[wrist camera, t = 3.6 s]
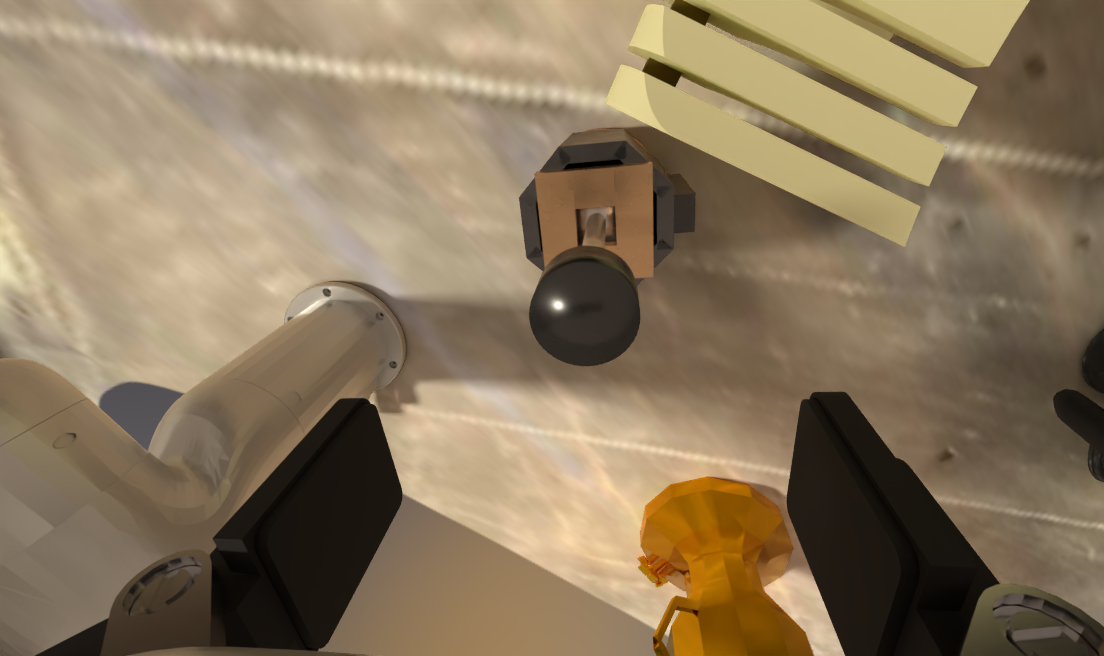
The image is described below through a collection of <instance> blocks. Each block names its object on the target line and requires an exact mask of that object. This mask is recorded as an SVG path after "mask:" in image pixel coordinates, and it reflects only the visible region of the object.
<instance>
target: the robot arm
mask: <svg viewBox="0 0 1104 656" xmlns="http://www.w3.org/2000/svg"><path fill="white" fill-rule="evenodd" d="M405 355H406V342H405V338H404V334H403V331H402V328H401V326H400V324H399V322H398V320H397V319H396V317H395V316H394V314H393V313H392V311H391V310H390V309H389V308H388V307H387V306H386V305H385V304H384V303H383V302H382V301H381V300H379V299H378V298H377V297H376V296H374V295H373V294H371V293H369V292H368V291H366V290H364V289H362V288H360V287H357V286H354V285H351V284H347V283H342V282H324V283H319V284H315V285H313V286H311V287H309V288H307V289H305V290H304V291H302V292H301V293H299V294H298V295H297V296H296V297H295V298H294V299H293V300H292V301H291V303H290V305H289V307H288V308H287V311H286V314H285V318H284V325H282V326H281V327H279V328H278V329H277V330H275V331H274V332H272V333H271V334H269V335H268V336H267V337H265V338H264V339H262V340H261V341H259V342H258V343H257V344H255V345H254V346H252V347H251V348H249V349H248V350H247V351H245V352H244V353H242V354H241V355H239V356H238V357H237V358H235V359H234V360H232V361H231V362H229V363H228V364H226V365H225V366H224V367H222V368H221V369H219V370H218V371H216V372H215V373H214V374H212V375H211V376H209V377H208V378H206V379H205V380H204V381H202V382H201V383H199V384H198V385H196V386H195V387H194V388H192V389H191V390H190V391H188V392H187V393H185V394H184V395H183V396H181V397H180V398H179V399H178V400H177V401H176V402H175V403H174V404H173V405H172V406H171V407H170V408H169V410H168V411H167V412H166V414H165V415H164V417H163V418H162V420H161V421H160V423H159V425H158V427H157V429H156V431H155V433H154V436H153V438H152V440H151V443H150V446H149V450H148V451H146V450H145V449H144V448H143V447H142V446H141V445H140V444H139V443H138V442H137V441H135V440H134V439H133V438H132V437H131V436H130V435H129V434H128V433H127V432H125V431H124V430H123V429H122V428H121V427H120V426H119V425H118V424H117V423H115V422H114V421H113V420H112V419H111V418H110V417H109V416H108V415H107V414H105V413H104V412H103V411H102V410H101V409H100V408H99V407H98V406H97V405H96V404H95V403H93V402H92V401H91V400H90V399H89V398H87V397H86V396H85V395H84V394H83V393H82V392H80V391H79V390H78V389H77V388H76V387H75V386H74V385H72V384H71V383H70V382H68V381H67V380H66V379H65V378H63V377H62V376H61V375H60V374H58V373H56V372H55V371H53V370H52V369H50V368H48V367H46V366H44V365H42V364H39V363H37V362H34V361H30V360H25V359H15V358H3V359H0V656H376V655H363V654H348V653H334V652H319V651H318V649H319V648H323V647H324V646H325V645H326V644H327V643H328V642H329V640H330V638H331V636H332V634H333V633H334V630H335V629H336V627H337V625H338V623H339V621H340V619H341V617H342V615H343V614H344V612H345V610H346V608H347V606H348V604H349V602H350V600H351V598H352V596H353V594H354V593H355V591H356V589H357V587H358V585H359V583H360V581H361V579H362V577H363V576H364V574H365V572H366V570H367V568H368V566H369V564H370V562H371V560H372V559H373V557H374V555H375V553H376V551H377V549H378V547H379V545H380V543H381V541H382V540H383V538H384V536H385V534H386V532H387V530H388V528H389V526H390V524H391V522H392V521H393V519H394V517H395V515H396V513H397V511H398V509H399V507H400V505H401V501H402V488H401V485H400V482H399V478H398V475H397V472H396V469H395V466H394V462H393V459H392V456H391V453H390V449H389V446H388V443H387V440H386V436H385V433H384V430H383V427H382V423H381V420H380V417H379V414H378V411H377V408H376V406H375V405H373V404H370V402H369V400H368V399H369V398H370V395H371V394H372V393H373V392H375V391H377V390H380V389H382V388H384V387H385V386H387V385H388V384H390V383H391V381H392V380H393V379H394V378H395V377H396V376H397V374H398V373H399V372H400V370H401V368H402V366H403V364H404V361H405ZM787 509H788V513H789V516H790V519H791V521H792V524H793V526H794V529H795V531H796V534H797V536H798V539H799V541H800V544H801V546H802V549H803V551H804V554H805V556H806V559H807V561H808V564H809V566H810V569H811V571H812V574H813V576H814V579H815V581H816V584H817V586H818V589H819V591H820V594H821V596H822V599H823V601H824V604H825V606H826V609H827V611H828V614H829V616H830V619H831V621H832V624H833V626H834V629H835V631H836V634H837V636H838V639H839V641H840V644H841V646H842V649H843V651H844V654H845V656H1104V626H1103V625H1102V624H1100V623H1099V622H1097V621H1096V620H1095V619H1093V618H1092V617H1091V616H1089V615H1088V614H1086V613H1085V612H1084V611H1082V610H1081V609H1080V608H1078V607H1076V606H1074V605H1072V604H1070V603H1068V602H1067V601H1065V600H1063V599H1061V598H1059V597H1057V596H1055V595H1052V594H1050V593H1047V592H1044V591H1042V590H1039V589H1036V588H1033V587H1028V586H1023V585H1018V584H1000V583H999V582H998V580H997V579H996V578H995V577H994V575H993V574H992V573H991V571H990V570H989V569H988V567H987V566H986V565H985V564H984V562H983V561H982V560H981V558H980V557H979V556H978V555H977V553H976V552H975V551H974V549H973V548H972V547H971V545H970V544H969V543H968V542H967V540H966V539H965V538H964V536H963V535H962V534H961V532H960V531H959V530H958V529H957V527H956V526H955V525H954V523H953V522H952V521H951V520H950V518H949V517H948V516H947V514H946V513H945V512H944V510H943V509H942V508H941V507H940V505H939V504H938V503H937V501H936V500H935V499H934V498H933V496H932V495H931V494H930V492H929V491H928V490H927V488H926V487H925V486H924V485H923V483H922V482H921V481H920V479H919V478H918V477H917V475H916V474H915V473H914V472H913V470H912V469H911V468H910V467H909V466H908V465H907V464H906V463H905V462H904V461H903V460H901V459H898V458H895V456H894V455H893V454H892V452H891V451H890V450H889V448H888V447H887V446H886V444H885V443H884V442H883V440H882V439H881V438H880V436H879V435H878V434H877V432H876V431H875V430H874V428H873V427H872V426H871V425H870V423H869V422H868V421H867V419H866V418H865V417H864V415H863V414H862V413H861V411H860V410H859V409H858V407H857V406H856V405H855V403H854V402H853V401H852V399H851V398H850V397H849V395H848V394H847V393H845V392H814V393H812V395H811V396H810V399H804V400H802V402H801V405H800V411H799V418H798V425H797V432H796V438H795V445H794V452H793V458H792V465H791V472H790V479H789V485H788V492H787Z"/></svg>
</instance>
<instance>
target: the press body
mask: <svg viewBox="0 0 1104 656" xmlns="http://www.w3.org/2000/svg"><path fill="white" fill-rule="evenodd" d="M519 201H520V209H521V217H522V225H523V233H524V241H525V249H526V257H527V259H529V260H530V261H531V262H532V263H533V264H535V265H536V266H537V267H538V268H540V269H541V270H542V271H544V269H545V267H546V266H547V265H548V263H549V262H550V261H551V260H552V259H553V258H554V257H555V256H557V255H558V254H559V253H561V252H563V251H565V250H567V249H570V248H573V247H577V246H582V244H583V243H579V238H578V225H577V212H576V209H582V208H595V207H609V206H615V214H616V238H617V241H608V242H605V249H607V250H610V251H612V252H613V253H615V254H617V255H618V256H619V257H621V258H622V259H623V260H624V261H625V262H626V263H627V265H628V266H629V267H630V269H631V271H632V272H633V275H634V277H635V280H636V284H637V285H638V284H639V283H640V282H641V281H642V280H643V279H644V278H651V277H654V268H655V267H656V266H657V265H658V264H659V263H660V262H661V261H662V260H663V259H664V258H665V257H666V256H667V255H668V254H669V253H670V252H671V251H672V250H673V238H674V233H681V232H694V226H695V192H694V191H693V190H692V188H691V187H690V186H689V185H688V184H687V182H686V181H685V180H684V179H683V177H682V176H681V175H680V174H672V175H667V174H666V172H665V171H664V169H663V168H662V166H661V165H660V163H659V162H658V161H657V160H656V159H655V158H654V157H653V156H652V155H651V154H650V153H649V152H648V150H647V149H646V148H645V147H644V146H643V145H642V144H641V143H640V142H639V141H638V140H637V139H635V138H634V137H632V136H631V135H629V134H628V133H627V132H626V131H625V130H624V129H623V128H620V129H608V128H598V129H592V130H588V131H585V132H579V133H573V134H571V135H570V136H569V137H568V138H567V139H566V140H565V141H564V142H563V143H562V144H561V145H560V146H559V147H558V148H557V150H556V151H555V152H554V153H553V155H552V156H551V157H550V159H549V160H548V161H547V162H546V164H545V165H544V166H543V168H542V169H541V170H540V171H539V172H536V173H535V178H534V179H533V180H532V182H531V183H530V184H529V186H528V187H527V188H526V189H525V191H524V192H523V193H522V195H521V196H520V197H519Z"/></svg>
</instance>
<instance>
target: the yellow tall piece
mask: <svg viewBox="0 0 1104 656" xmlns="http://www.w3.org/2000/svg"><path fill="white" fill-rule="evenodd" d="M640 542H641V548H642V549H643V551H644V553H645V555H646V557H647V559H648V560H647V559H646V558H645V557H644V556H641V557H639V558H638V560H639V561H640V562H641V566H639V567H638V568H639V569H640V570H641V571H642V572H643V573H644V574H645V575H647V577H648V579H649V580H650V581H651V582H653V583H655V584H656V587H660V586H662V585H663V584H665V583H667V582H668V581H669V582H670V583H672V584H673V585H675V586H676V587H678V588H680V589H681V590H683V591H686V593H687V598H685V597H680V596H675V597H673V598H672V599H671V601H670V603H669V605H668V607H667V609H666V611H665V613H664V615H663V617H662V620H661V622H660V624H659V626H658V628H657V630H656V632H655V634H654V636H653V644H654V651H655V653H656V655H657V656H815V655H814V653H813V650H812V648H811V645H810V643H809V640H808V638H807V635H806V633H805V631H804V630H803V629H802V628H801V627H800V626H799V625H798V624H797V623H796V622H795V621H794V620H793V619H792V618H791V617H790V616H789V615H788V614H787V613H786V612H785V611H784V610H783V609H782V608H781V607H780V606H779V605H778V604H777V603H776V602H775V601H774V600H773V599H772V598H771V597H770V596H769V595H768V594H767V593H766V592H765V590H764V587H765V586H767V585H768V584H770V583H771V582H773V581H774V580H776V579H777V578H779V577H781V576H782V575H783V573H784V571H785V568H786V566H787V563H788V561H789V558H790V556H791V554H792V551H793V549H794V548H793V546H792V543H791V540H790V537H789V535H788V532H787V529H786V526H785V524H784V521H783V518H782V516H781V513H780V511H779V508H778V506H777V505H775V504H774V503H773V502H771V501H770V500H769V499H767V498H766V497H765V496H763V495H762V494H760V493H759V492H758V491H756V490H755V489H754V488H752V487H751V486H750V485H748V484H743V483H738V482H733V481H728V480H723V479H718V478H713V477H703V478H699V479H694V480H689V481H685V482H680V483H676V484H671V485H669V486H668V487H667V488H666V489H664V490H663V491H662V492H661V493H660V494H659V495H657V496H656V497H655V498H654V499H653V500H652V501H650V502H649V503H648V504H647V505H646V506H645V510H644V515H643V520H642V525H641V530H640ZM648 565H651V566H648ZM675 610H678V611H680V612H679V614H678V616H677V617H676V619H675V621H674V622H673V624H672V626H671V630H670V634H669V638H668V642H667V646H666V647H665V645H664V644H663V642H662V638H663V636H664V634H665V632H666V629H667V627H668V625H669V623H670V621H671V618H672V616H673V614H674V612H675Z"/></svg>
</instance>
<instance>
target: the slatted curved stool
mask: <svg viewBox="0 0 1104 656" xmlns="http://www.w3.org/2000/svg"><path fill="white" fill-rule="evenodd" d="M663 1H665V2H667V3H669V4H671V5H672V6H671V9H669V8H667V7H665V6H662V5H656V4H650V5H647V6H646V8H645V10H644V12H643V15H642V17H641V19H640V22H639V24H638V26H637V29H636V31H635V33H634V36H633V38H632V40H631V43H630V45H629V48H628V51H630V52H632V53H635V54H637V55H639V56H641V57H643V58H645V59H647V62H646V64H645V66H644V69H643V71H639V70H637V69H634V68H632V67H629V66H626V65H621V66H620V68H619V70H618V73H617V75H616V77H615V80H614V82H613V84H612V87H611V89H610V91H609V94H608V96H607V98H606V101H605V103H606V104H608V105H610V106H612V107H614V108H616V109H618V110H619V111H621V112H623V113H625V114H627V115H629V116H631V117H633V118H635V119H637V120H639V121H641V122H644V123H646V124H648V125H650V126H652V127H654V128H656V129H658V130H660V131H662V132H664V133H666V134H668V135H670V136H672V137H675V138H677V139H679V140H681V141H683V142H685V143H687V144H689V145H691V146H693V147H696V148H698V149H700V150H702V151H704V152H706V153H708V154H710V155H712V156H714V157H717V158H719V159H721V160H723V161H725V162H727V163H729V164H731V165H733V166H735V167H738V168H740V169H742V170H744V171H746V172H748V173H750V174H752V175H754V176H756V177H759V178H761V179H763V180H765V181H767V182H769V183H771V184H773V185H775V186H777V187H780V188H782V189H784V190H786V191H788V192H790V193H792V194H794V195H796V196H798V197H801V198H803V199H805V200H807V201H809V202H811V203H813V204H815V205H817V206H819V207H822V208H824V209H826V210H828V211H830V212H832V213H834V214H836V215H838V216H840V217H843V218H845V219H847V220H849V221H851V222H853V223H855V224H857V225H859V226H861V227H864V228H866V229H868V230H870V231H872V232H874V233H876V234H878V235H880V236H882V237H885V238H887V239H889V240H891V241H893V242H895V243H897V244H899V245H901V246H903V247H905V245H906V242H907V240H908V237H909V235H910V232H911V229H912V227H913V224H914V222H915V219H916V217H917V214H918V212H919V209H920V206H918V205H916V204H914V203H912V202H910V201H908V200H906V199H904V198H902V197H900V196H898V195H896V194H894V193H892V192H890V191H888V190H886V189H883V188H881V187H879V186H877V185H875V184H873V183H871V182H869V181H867V180H865V179H863V178H861V177H859V176H857V175H855V174H853V173H850V172H848V171H846V170H844V169H842V168H840V167H838V166H836V165H834V164H832V163H830V162H828V161H826V160H824V159H822V158H820V157H817V156H815V155H813V154H811V153H809V152H807V151H805V150H803V149H801V148H799V147H797V146H795V145H793V144H791V143H789V142H787V141H784V140H782V139H780V138H778V137H776V136H774V135H772V134H770V133H768V132H766V131H764V130H762V129H760V128H758V127H756V126H754V125H751V124H749V123H747V122H745V121H743V120H741V119H739V118H737V117H735V116H733V115H731V114H729V113H727V112H725V111H723V110H721V109H718V108H716V107H714V106H712V105H710V104H708V103H706V102H704V101H702V100H700V99H698V98H696V97H694V96H692V95H690V94H688V93H685V92H683V91H681V90H679V89H677V88H675V86H676V84H677V82H678V80H679V78H680V76H682V77H684V78H686V79H688V80H690V81H692V82H694V83H696V84H698V85H700V86H702V87H704V88H707V89H710V90H713V91H715V92H718V93H721V94H723V95H726V96H728V97H730V98H733V99H735V100H737V101H740V102H742V103H744V104H747V105H749V106H751V107H753V108H755V109H758V110H760V111H762V112H764V113H766V114H769V115H771V116H773V117H775V118H777V119H779V120H782V121H784V122H786V123H788V124H790V125H792V126H794V127H797V128H799V129H801V130H803V131H805V132H807V133H809V134H811V135H813V136H816V137H818V138H820V139H822V140H824V141H826V142H828V143H830V144H832V145H834V146H837V147H839V148H841V149H843V150H845V151H847V152H849V153H851V154H853V155H855V156H857V157H859V158H861V159H864V160H866V161H868V162H870V163H872V164H874V165H876V166H878V167H880V168H882V169H884V170H886V171H888V172H890V173H892V174H894V175H897V176H899V177H901V178H903V179H905V180H909V181H912V182H915V183H919V184H922V185H926V186H929V185H930V183H931V181H932V179H933V177H934V174H935V172H936V170H937V168H938V166H939V163H940V161H941V159H942V157H943V155H944V152H945V150H946V148H947V147H946V146H944V145H942V144H940V143H938V142H936V141H934V140H932V139H930V138H928V137H926V136H924V135H922V134H920V133H918V132H916V131H914V130H912V129H910V128H908V127H906V126H904V125H902V124H900V123H898V122H896V121H894V120H892V119H890V118H888V117H886V116H884V115H882V114H880V113H878V112H876V111H874V110H872V109H870V108H868V107H866V106H864V105H862V104H860V103H858V102H856V101H854V100H852V99H850V98H848V97H846V96H844V95H842V94H840V93H838V92H836V91H834V90H832V89H830V88H828V87H826V86H824V85H822V84H820V83H818V82H816V81H814V80H812V79H810V78H808V77H806V76H804V75H802V74H800V73H798V72H796V71H794V70H792V69H790V68H788V67H786V66H784V65H782V64H780V63H778V62H776V61H774V60H772V59H770V58H768V57H766V56H764V55H762V54H760V53H758V52H756V51H754V50H752V49H750V48H748V47H746V46H744V45H742V44H740V43H738V42H736V41H734V40H732V39H730V38H728V37H726V36H724V35H722V34H720V33H718V32H716V31H714V30H712V29H710V28H708V27H706V26H705V25H706V23H707V22H708V23H710V24H712V25H714V26H716V27H718V28H720V29H722V30H724V31H726V32H728V33H730V34H732V35H734V36H736V37H738V38H741V39H745V40H748V41H751V42H754V43H757V44H759V45H762V46H765V47H767V48H770V49H773V50H775V51H778V52H780V53H782V54H785V55H787V56H789V57H792V58H794V59H796V60H799V61H801V62H803V63H805V64H808V65H810V66H812V67H814V68H817V69H819V70H821V71H823V72H825V73H827V74H830V75H832V76H834V77H836V78H838V79H840V80H842V81H845V82H847V83H849V84H851V85H853V86H855V87H857V88H859V89H861V90H863V91H866V92H868V93H870V94H872V95H874V96H876V97H878V98H880V99H882V100H884V101H886V102H888V103H890V104H892V105H894V106H896V107H898V108H900V109H903V110H905V111H907V112H909V113H911V114H913V115H915V116H917V117H919V118H921V119H923V120H925V121H927V122H929V123H931V124H933V125H942V126H952V127H957V125H958V124H959V122H960V120H961V118H962V116H963V114H964V112H965V110H966V108H967V106H968V105H969V103H970V101H971V99H972V97H973V95H974V93H975V91H976V89H977V86H975V85H973V84H971V83H969V82H967V81H965V80H963V79H962V78H960V77H958V76H956V75H954V74H952V73H950V72H948V71H946V70H944V69H942V68H940V67H938V66H936V65H934V64H932V63H930V62H928V61H926V60H924V59H922V58H921V57H919V56H917V55H915V54H913V53H911V52H909V51H907V50H905V49H903V48H901V47H899V46H897V45H895V44H893V43H891V42H889V41H890V40H891V38H892V37H893V35H894V34H895V35H897V36H899V37H901V38H903V39H906V40H908V41H910V42H912V43H914V44H916V45H918V46H920V47H922V48H924V49H926V50H928V51H930V52H932V53H934V54H936V55H938V56H940V57H942V58H944V59H946V60H948V61H950V62H952V63H954V64H956V65H958V66H960V67H962V68H974V67H988V66H990V64H991V63H992V61H993V59H994V58H995V56H996V54H997V52H998V51H999V49H1000V47H1001V46H1002V44H1003V42H1004V41H1005V39H1006V37H1007V36H1008V34H1009V32H1010V31H1011V29H1012V27H1013V26H1014V24H1015V22H1016V21H1017V19H1018V18H1019V16H1020V15H1021V13H1022V12H1023V10H1024V9H1025V7H1026V5H1027V4H1028V2H1029V1H1030V0H663Z"/></svg>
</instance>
